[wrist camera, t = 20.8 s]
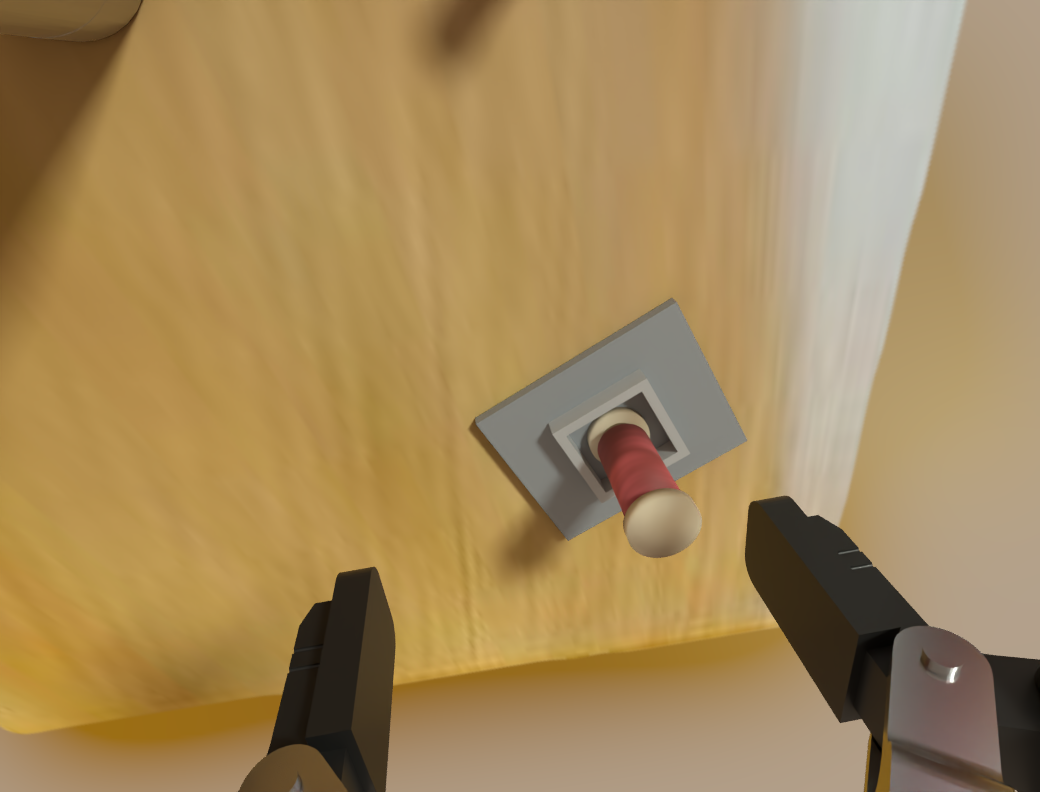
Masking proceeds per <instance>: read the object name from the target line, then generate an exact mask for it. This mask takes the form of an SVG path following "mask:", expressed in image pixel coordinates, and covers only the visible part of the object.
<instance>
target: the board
mask: <svg viewBox="0 0 1040 792" xmlns="http://www.w3.org/2000/svg"><path fill="white" fill-rule="evenodd" d="M615 407H627V408H631V409H633V410H635V411H637V412H638V413H639V414H640V415H641V416H642V417H643V419H644V420H645V422H646V424H647V425H648V428H649V431H650V440H651V442H652V444H653V445H654V447H655V449H656V450H657V452H658V454H659V455H660V457H661V459H662V461H663V462H664V464H665V466H666V467H667V469H668V471H669V472H670V474H671V476H672V478H673V479H674V481H676V480H678V479H679V478H681V477H683V476H685V475H687V474H688V473H690V472H692V471H694V470H696V469H697V468H699V467H701V466H703V465H705V464H706V463H708V462H710V461H712V460H713V459H715V458H717V457H719V456H721V455H722V454H724V453H726V452H728V451H730V450H731V449H733V448H735V447H737V446H739V445H740V444H742V443H744V442H746V441H747V439H746V437H745V435H744V433H743V431H742V429H741V427H740V425H739V423H738V421H737V419H736V417H735V415H734V413H733V411H732V409H731V407H730V406H729V404H728V402H727V400H726V398H725V396H724V394H723V392H722V390H721V388H720V386H719V384H718V382H717V380H716V378H715V376H714V374H713V372H712V370H711V368H710V366H709V364H708V362H707V361H706V359H705V357H704V355H703V353H702V351H701V349H700V347H699V345H698V343H697V341H696V339H695V337H694V335H693V333H692V331H691V329H690V327H689V325H688V323H687V321H686V319H685V317H684V316H683V314H682V312H681V310H680V308H679V306H678V304H677V302H676V301H675V300H674V299H673V298H671V299H669V300H668V301H666V302H664V303H663V304H661V305H659V306H658V307H656V308H655V309H653V310H651V311H650V312H648V313H646V314H645V315H643V316H641V317H640V318H638V319H636V320H635V321H633V322H632V323H630V324H628V325H627V326H625V327H623V328H622V329H620V330H618V331H617V332H615V333H614V334H612V335H610V336H609V337H607V338H605V339H604V340H602V341H600V342H599V343H597V344H596V345H594V346H592V347H591V348H589V349H587V350H586V351H584V352H582V353H581V354H579V355H578V356H576V357H574V358H573V359H571V360H569V361H568V362H566V363H564V364H563V365H561V366H560V367H558V368H556V369H555V370H553V371H551V372H550V373H548V374H546V375H545V376H543V377H542V378H540V379H538V380H537V381H535V382H533V383H532V384H530V385H528V386H527V387H525V388H524V389H522V390H520V391H519V392H517V393H515V394H514V395H512V396H510V397H509V398H507V399H506V400H504V401H502V402H501V403H499V404H497V405H496V406H494V407H492V408H491V409H489V410H488V411H486V412H484V413H483V414H481V415H479V416H478V417H476V418H475V421H476V425H477V426H478V427H479V429H480V430H481V431H482V433H483V434H484V435H485V436H486V438H487V439H488V440H489V441H490V443H491V444H492V445H493V446H494V448H495V449H496V450H497V452H498V453H499V454H500V455H501V457H502V458H503V459H504V460H505V462H506V463H507V464H508V465H509V467H510V468H511V469H512V471H513V472H514V473H515V474H516V476H517V477H518V478H519V479H520V481H521V482H522V483H523V484H524V486H525V487H526V488H527V490H528V491H529V492H530V493H531V495H532V496H533V497H534V498H535V500H536V501H537V502H538V503H539V505H540V506H541V507H542V509H543V510H544V511H545V512H546V514H547V515H548V516H549V517H550V519H551V520H552V521H553V522H554V524H555V525H556V526H557V528H558V529H559V530H560V531H561V533H562V534H563V535H564V536H565V538H566V539H567V540H568V541H569V540H570V539H572V538H574V537H576V536H577V535H579V534H581V533H583V532H585V531H586V530H588V529H590V528H592V527H594V526H595V525H597V524H599V523H601V522H603V521H604V520H606V519H608V518H610V517H611V516H613V515H615V514H617V513H619V512H620V511H622V509H621V507H620V505H619V502H618V500H617V498H616V495H615V493H614V491H613V488H612V486H611V484H610V481H609V479H608V477H607V474H606V472H605V470H604V467H603V465H602V463H601V462H600V461H599V460H597V459H596V458H595V457H594V455H593V454H592V452H591V450H590V447H589V445H588V441H587V432H588V428H589V426H590V424H591V423H592V421H593V420H594V419H596V418H598V417H600V416H601V415H603V414H605V413H606V412H608V411H610V410H611V409H613V408H615Z"/></svg>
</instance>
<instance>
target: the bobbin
mask: <svg viewBox="0 0 1040 792" xmlns="http://www.w3.org/2000/svg"><path fill="white" fill-rule="evenodd" d="M587 441H588V445H589V447H590V450H591V452H592V454H593V455H594V457H595V458H596V459H597V460H599V461H600V462H601V463H602V465H603V467H604V470H605V472H606V474H607V477H608V479H609V481H610V484H611V486H612V488H613V491H614V493H615V495H616V498H617V500H618V502H619V505H620V507H621V509H622V512H623V514H624V520H623V528H624V532H625V534H626V537H627V539H628V541H629V544H630V545H631V547H632V548H633V549H634V550H635V551H636V552H638V553H639V554H641V555H643V556H646V557H652V558H661V557H667V556H671V555H674V554H676V553H679V552H680V551H682V550H684V549H685V548H687V547H688V546H689V545H690V544H691V543H692V542H693V541H694V540H695V539H696V537H697V536H698V534H699V532H700V529H701V526H702V517H701V514H700V511H699V509H698V508H697V506H696V505H695V503H694V501H693V500H692V498H691V497H690V496H689V495H688V494H686V493H685V492H683V491H681V490H680V489H679V488H678V486H677V484H676V483H675V481H674V479H673V478H672V476H671V474H670V472H669V471H668V469H667V467H666V466H665V464H664V462H663V461H662V459H661V457H660V455H659V454H658V452H657V450H656V449H655V447H654V445H653V444H652V442H651V440H650V431H649V428H648V425H647V424H646V422H645V420H644V419H643V417H642V416H641V415H640V414H639V413H638V412H637V411H635V410H633V409H631V408H627V407H615V408H613V409H611V410H610V411H608V412H606V413H605V414H603V415H601V416H600V417H598V418H596V419H594V420H593V421H592V423H591V424H590V426H589V428H588V432H587Z"/></svg>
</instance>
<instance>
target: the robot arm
mask: <svg viewBox="0 0 1040 792" xmlns="http://www.w3.org/2000/svg"><path fill="white" fill-rule="evenodd" d="M140 3H141V0H0V34H5V35H15V36H25V37H32V38H42V39H53V40H64V41H75V42H85V41H94V40H100V39H102V38H105V37H108V36H110V35H113V34H115V33H116V32H117V31H119V30H120V29H121V28H123V27H124V26H125V25H127V24H128V22H129V21H130V20H131V18H132V17H133V16H134V14H135V13H136V12H137V10H138V8H139V5H140ZM745 561H746V567H747V571H748V574H749V577H750V579H751V581H752V583H753V585H754V587H755V588H756V590H757V591H758V593H759V595H760V596H761V598H762V599H763V601H764V603H765V604H766V606H767V607H768V609H769V611H770V612H771V614H772V615H773V617H774V619H775V620H776V622H777V623H778V625H779V627H780V628H781V630H782V631H783V632H784V634H785V636H786V638H787V639H788V641H789V642H790V644H791V646H792V647H793V649H794V650H795V652H796V654H797V655H798V656H799V658H800V660H801V661H802V663H803V665H804V666H805V668H806V670H807V671H808V673H809V674H810V676H811V677H812V679H813V681H814V682H815V684H816V685H817V687H818V689H819V690H820V692H821V693H822V695H823V697H824V698H825V700H826V701H827V703H828V705H829V706H830V708H831V709H832V711H833V713H834V714H835V716H836V717H837V719H838V720H839V722H840V723H842V722H848V721H853V720H858V719H862V720H863V721H864V723H865V725H866V726H867V728H868V729H869V730H870V736H869V741H868V750H867V761H866V772H865V784H864V792H1015V790H1017V791H1018V792H1040V660H1037V659H1027V658H1017V657H1006V656H996V655H988V654H983V653H981V652H980V651H979V650H978V649H977V648H976V647H975V646H974V645H972V644H971V643H969V642H968V641H967V640H965V639H963V638H961V637H960V636H958V635H956V634H954V633H952V632H949V631H946V630H944V629H940V628H936V627H931V626H929V625H928V624H927V623H926V622H925V621H924V620H923V619H922V618H921V617H920V616H919V615H918V614H917V612H916V611H915V610H914V609H913V608H912V607H911V606H910V605H909V603H907V601H906V600H905V599H904V598H903V597H902V596H901V595H900V594H899V592H898V591H897V590H896V589H895V588H894V587H893V586H892V585H891V584H890V582H889V581H888V580H887V579H886V578H885V577H884V576H883V575H882V574H881V572H880V571H879V570H878V569H877V568H876V567H873V566H872V562H871V561H870V560H869V559H868V558H867V557H866V556H865V555H864V554H863V552H860V551H859V549H858V547H857V546H856V545H855V543H854V542H853V541H852V540H851V539H850V538H849V537H848V536H847V535H846V533H844V531H843V530H842V529H840V528H839V527H837V526H835V525H834V524H832V523H830V522H829V521H827V520H825V519H824V518H822V517H820V516H819V515H816V516H811V517H807V516H806V515H805V513H804V512H803V511H802V510H801V509H800V507H799V506H798V505H797V504H796V503H795V502H794V500H793V499H792V498H790V497H789V496H781V497H775V498H769V499H764V500H758V501H753V502H751V503H750V505H749V510H748V522H747V535H746V548H745ZM394 660H395V631H394V624H393V619H392V615H391V612H390V609H389V606H388V602H387V599H386V596H385V593H384V589H383V586H382V583H381V580H380V576H379V573H378V571H377V569H376V568H375V567H370V568H365V569H359V570H353V571H348V572H342V573H339V574H338V575H337V578H336V583H335V588H334V593H333V598H332V601H326V602H321V603H315V604H314V606H313V607H312V608H311V610H310V611H309V613H308V614H307V616H306V617H305V619H304V620H303V621H302V623H301V624H300V626H299V630H298V634H297V638H296V642H295V646H294V654H292V658H291V662H290V667H289V673H288V675H287V679H286V683H285V687H284V691H283V695H282V699H281V703H280V707H279V711H278V716H277V720H276V723H275V727H274V732H273V736H272V740H271V744H270V747H269V750H268V753H267V756H266V757H264V758H263V759H262V760H261V761H260V762H259V763H257V765H256V766H255V767H254V768H253V769H252V770H251V771H250V773H249V774H248V775H247V777H246V778H245V780H244V782H243V784H242V785H241V787H240V790H239V791H238V792H385V791H386V776H387V761H388V747H389V733H390V732H389V731H390V718H391V704H392V689H393V675H394Z"/></svg>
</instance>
